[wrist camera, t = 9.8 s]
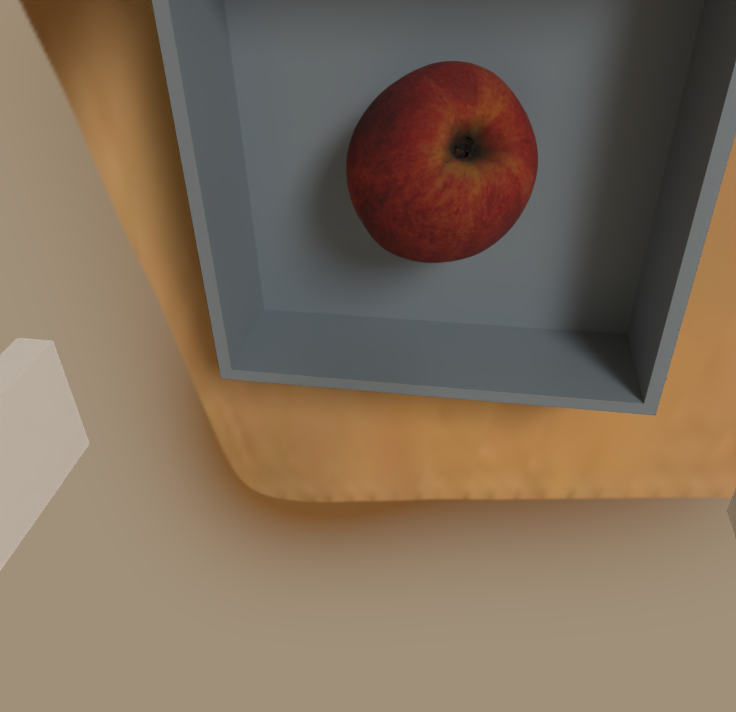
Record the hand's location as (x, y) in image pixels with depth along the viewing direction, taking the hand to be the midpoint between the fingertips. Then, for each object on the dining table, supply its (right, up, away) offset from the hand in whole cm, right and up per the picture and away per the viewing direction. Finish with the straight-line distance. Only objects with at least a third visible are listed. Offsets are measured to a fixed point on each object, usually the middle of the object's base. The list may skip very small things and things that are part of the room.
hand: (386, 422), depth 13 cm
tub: (+3, +11, +18) cm, 21 cm away
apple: (+3, +11, +17) cm, 21 cm away
